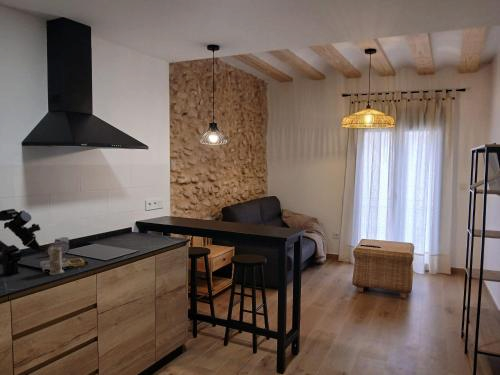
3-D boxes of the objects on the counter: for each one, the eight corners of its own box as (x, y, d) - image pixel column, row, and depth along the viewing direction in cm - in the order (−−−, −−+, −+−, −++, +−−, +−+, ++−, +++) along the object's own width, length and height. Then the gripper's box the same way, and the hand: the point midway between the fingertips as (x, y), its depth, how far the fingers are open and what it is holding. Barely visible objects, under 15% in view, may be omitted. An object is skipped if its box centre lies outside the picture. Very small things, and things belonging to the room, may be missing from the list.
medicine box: (63, 249, 263) (63, 236, 262) (69, 249, 262) (68, 237, 261) (54, 252, 255) (54, 239, 255) (60, 252, 254) (59, 239, 253)
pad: (50, 275, 209) (50, 274, 209) (48, 271, 215) (48, 270, 215) (64, 272, 213) (64, 271, 213) (62, 269, 219) (62, 268, 219)
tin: (68, 252, 256) (68, 239, 255) (70, 253, 254) (70, 240, 253) (44, 256, 244) (44, 243, 243) (46, 257, 242) (46, 244, 241)
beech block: (50, 272, 211) (49, 249, 210) (52, 270, 216) (51, 247, 215) (60, 272, 212) (59, 249, 211) (62, 269, 217) (61, 247, 216)
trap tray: (70, 267, 223) (69, 264, 223) (66, 263, 231) (66, 259, 231) (84, 265, 228) (84, 262, 228) (80, 261, 236) (80, 258, 236)
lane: (42, 271, 215) (42, 266, 215) (40, 266, 223) (40, 261, 223) (69, 267, 223) (68, 262, 223) (65, 263, 231) (65, 258, 231)
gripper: (31, 220, 202) (53, 241, 207) (31, 218, 218) (52, 237, 223) (12, 235, 198) (35, 256, 203) (14, 231, 214) (35, 251, 219)
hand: (40, 249), depth 212 cm, fingers open, 9 cm apart
